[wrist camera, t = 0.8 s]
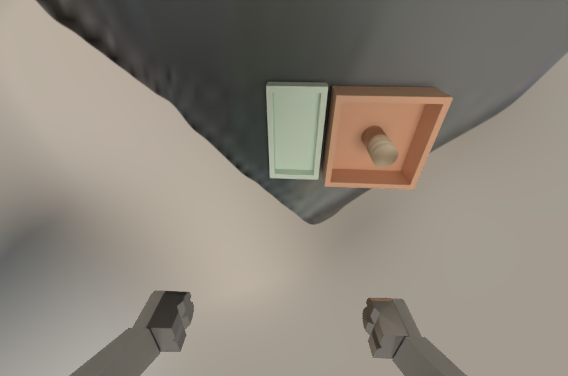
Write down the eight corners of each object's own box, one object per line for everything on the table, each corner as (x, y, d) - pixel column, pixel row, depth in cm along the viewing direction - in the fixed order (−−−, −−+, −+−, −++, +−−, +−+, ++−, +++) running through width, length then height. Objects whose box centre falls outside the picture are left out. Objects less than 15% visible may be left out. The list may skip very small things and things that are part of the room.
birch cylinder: (363, 125, 42) (375, 144, 36) (386, 125, 42) (401, 145, 36) (359, 145, 44) (369, 166, 38) (380, 145, 44) (394, 167, 38)
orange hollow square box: (332, 85, 39) (336, 95, 34) (434, 87, 38) (453, 97, 34) (322, 169, 49) (324, 186, 45) (402, 172, 49) (413, 189, 44)
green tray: (268, 81, 40) (266, 85, 37) (326, 82, 39) (328, 86, 37) (271, 170, 50) (270, 177, 48) (317, 171, 50) (318, 179, 47)
